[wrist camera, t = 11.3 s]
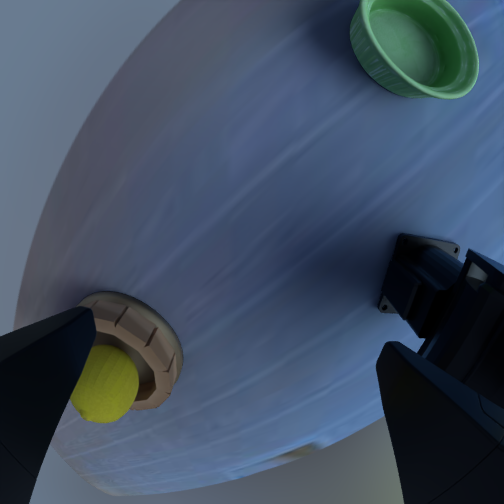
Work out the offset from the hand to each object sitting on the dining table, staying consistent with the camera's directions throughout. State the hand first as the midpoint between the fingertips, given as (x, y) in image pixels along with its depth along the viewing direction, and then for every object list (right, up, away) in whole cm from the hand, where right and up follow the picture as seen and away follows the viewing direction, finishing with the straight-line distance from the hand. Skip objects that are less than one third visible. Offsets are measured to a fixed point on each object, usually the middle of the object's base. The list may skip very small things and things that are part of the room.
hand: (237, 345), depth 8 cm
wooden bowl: (-11, -6, +15) cm, 20 cm away
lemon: (-11, -6, +14) cm, 19 cm away
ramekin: (+11, +17, +7) cm, 21 cm away
